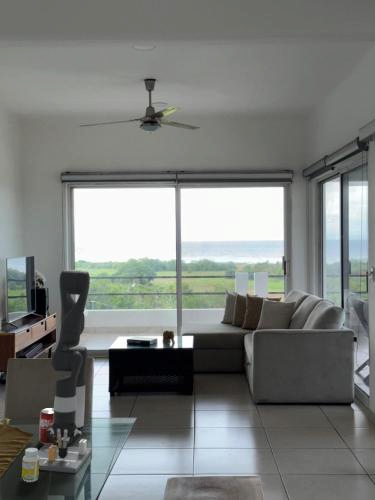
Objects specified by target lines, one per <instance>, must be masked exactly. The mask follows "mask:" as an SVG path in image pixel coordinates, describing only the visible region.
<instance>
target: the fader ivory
mask: <svg viewBox="0 0 375 500" xmlns="http://www.w3.org/2000/svg"><path fill="white" fill-rule="evenodd" d="M87 443H88V440H87V439H85V438H83V439H82V438H81V439H80V441H78V447H79V452H78V455H84V454H85V453H86V448H88V447H87V446H88V444H87Z"/></svg>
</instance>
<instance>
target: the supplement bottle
mask: <svg viewBox="0 0 375 500" xmlns="http://www.w3.org/2000/svg"><path fill="white" fill-rule="evenodd" d="M38 451H39V450H38V448H37V447H36V448H35V447H28V448H25V450H24V456H23V457H22V463H21V467H22V468H21V480H22V479H23V480H24V481H23V480H22V481H23V482H25V481H26V482H25V483H34V482H36V481H38V479H39V474H40V470H39V459H40V458H39V456H38V455H37V454H38Z"/></svg>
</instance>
